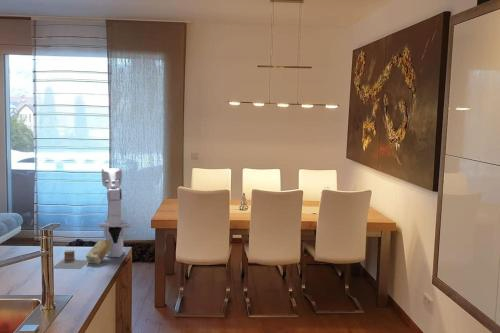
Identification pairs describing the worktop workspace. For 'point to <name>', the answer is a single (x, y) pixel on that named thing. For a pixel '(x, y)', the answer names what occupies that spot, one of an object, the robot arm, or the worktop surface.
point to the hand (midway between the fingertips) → (115, 242)
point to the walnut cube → (69, 255)
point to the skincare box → (99, 251)
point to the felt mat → (71, 264)
